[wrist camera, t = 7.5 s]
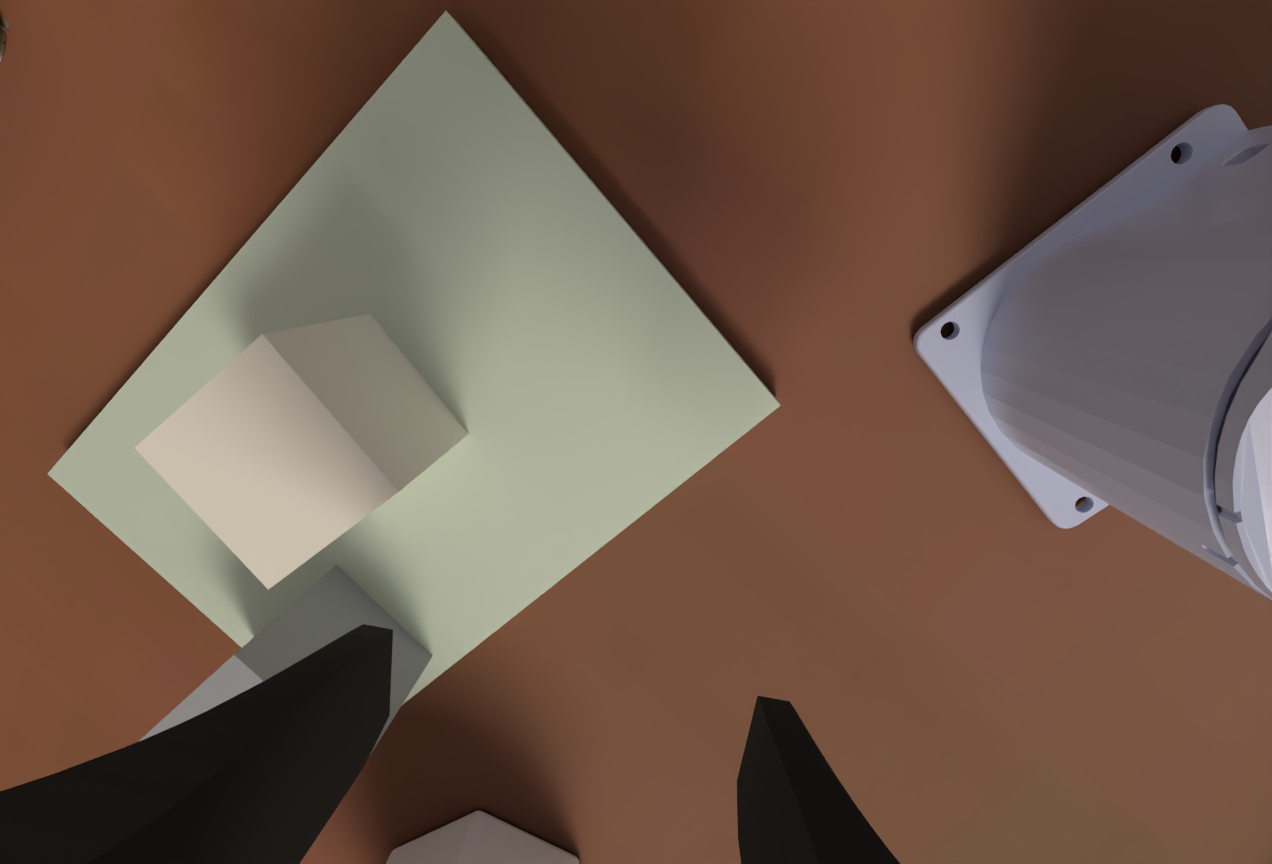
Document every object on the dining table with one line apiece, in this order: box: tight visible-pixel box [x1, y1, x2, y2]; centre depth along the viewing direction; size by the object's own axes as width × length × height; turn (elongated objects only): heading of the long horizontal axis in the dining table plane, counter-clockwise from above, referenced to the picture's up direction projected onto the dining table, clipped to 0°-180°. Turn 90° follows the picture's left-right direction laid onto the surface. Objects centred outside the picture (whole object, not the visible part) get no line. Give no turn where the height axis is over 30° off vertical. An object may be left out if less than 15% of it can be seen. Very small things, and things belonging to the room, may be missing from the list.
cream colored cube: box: [135, 314, 469, 590], centre depth 17 cm, size 5×5×5 cm
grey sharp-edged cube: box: [140, 565, 433, 760], centre depth 20 cm, size 5×5×5 cm
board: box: [48, 11, 780, 705], centre depth 19 cm, size 20×14×4 cm
